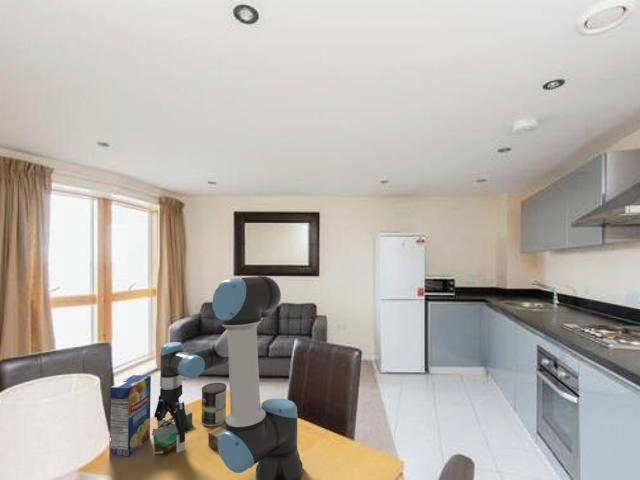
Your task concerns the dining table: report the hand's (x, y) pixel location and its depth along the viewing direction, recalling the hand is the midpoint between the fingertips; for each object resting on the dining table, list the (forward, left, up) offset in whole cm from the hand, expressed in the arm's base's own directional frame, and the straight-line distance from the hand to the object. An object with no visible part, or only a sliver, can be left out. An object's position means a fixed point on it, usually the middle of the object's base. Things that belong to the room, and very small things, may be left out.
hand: (170, 444), depth 120 cm
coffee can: (+5, -22, -2) cm, 23 cm away
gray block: (+12, -12, -2) cm, 17 cm away
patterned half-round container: (0, 0, -2) cm, 2 cm away
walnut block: (-12, -12, -2) cm, 17 cm away
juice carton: (+14, +8, -2) cm, 16 cm away
